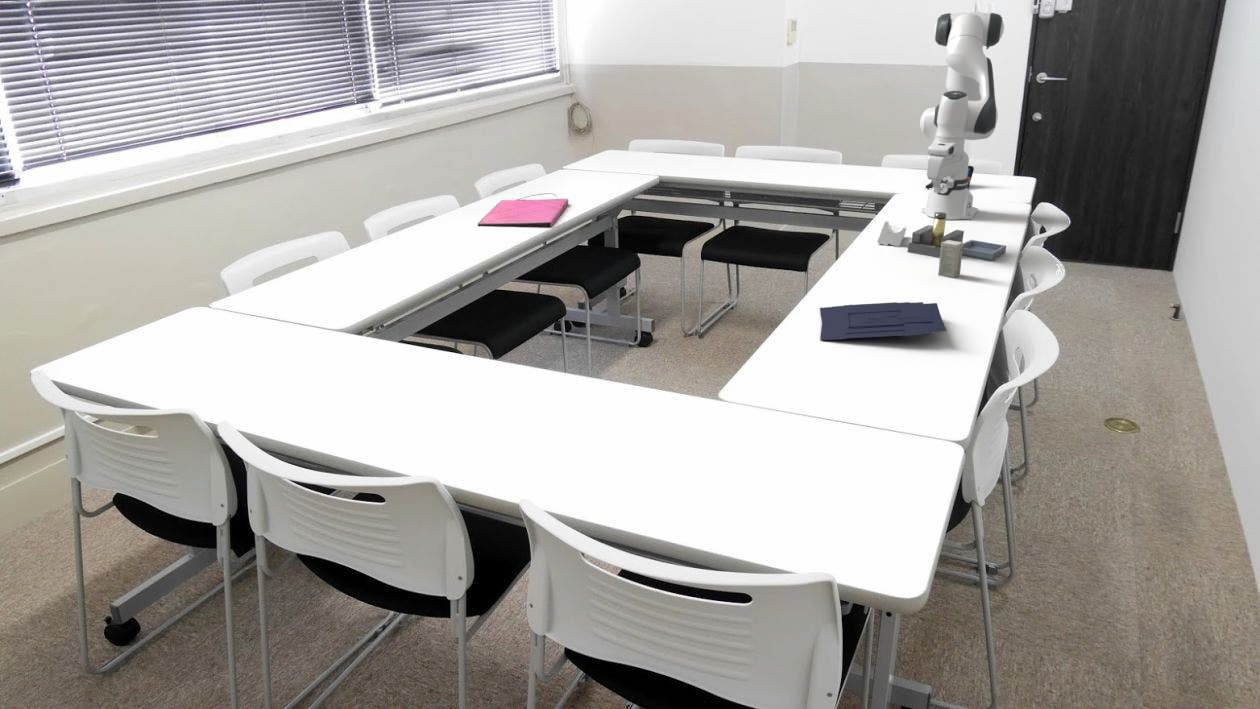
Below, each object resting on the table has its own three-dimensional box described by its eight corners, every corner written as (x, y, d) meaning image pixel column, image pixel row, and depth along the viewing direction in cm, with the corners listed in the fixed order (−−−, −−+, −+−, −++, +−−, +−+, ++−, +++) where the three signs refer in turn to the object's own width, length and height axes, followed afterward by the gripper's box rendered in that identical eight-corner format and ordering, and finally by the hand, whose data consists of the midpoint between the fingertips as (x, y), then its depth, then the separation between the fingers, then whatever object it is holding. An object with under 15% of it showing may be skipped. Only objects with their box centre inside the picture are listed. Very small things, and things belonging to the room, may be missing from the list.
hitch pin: (933, 247, 301) (937, 211, 296) (943, 249, 298) (948, 213, 294) (928, 250, 298) (932, 213, 293) (939, 251, 296) (943, 215, 291)
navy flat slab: (947, 344, 220) (947, 330, 219) (820, 350, 227) (819, 337, 226) (935, 310, 242) (935, 297, 241) (820, 316, 249) (819, 304, 248)
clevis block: (926, 242, 306) (928, 225, 304) (961, 248, 299) (963, 231, 296) (907, 252, 296) (909, 234, 294) (943, 258, 289) (945, 240, 287)
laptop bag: (550, 218, 328) (477, 218, 331) (551, 229, 330) (478, 229, 333) (570, 192, 365) (503, 192, 368) (571, 202, 366) (504, 202, 369)
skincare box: (960, 275, 273) (964, 242, 270) (953, 278, 271) (957, 245, 267) (944, 271, 277) (948, 239, 273) (937, 274, 274) (941, 242, 270)
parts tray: (969, 247, 301) (970, 239, 300) (1005, 253, 294) (1006, 245, 293) (955, 254, 293) (956, 247, 292) (991, 261, 286) (992, 253, 285)
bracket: (897, 249, 303) (906, 228, 299) (877, 242, 304) (885, 221, 301) (902, 239, 314) (910, 219, 310) (882, 232, 315) (890, 212, 312)
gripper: (952, 140, 294) (947, 183, 300) (925, 149, 280) (920, 193, 285) (971, 142, 291) (966, 186, 296) (945, 151, 276) (939, 196, 281)
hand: (943, 190), depth 290 cm, fingers open, 8 cm apart
